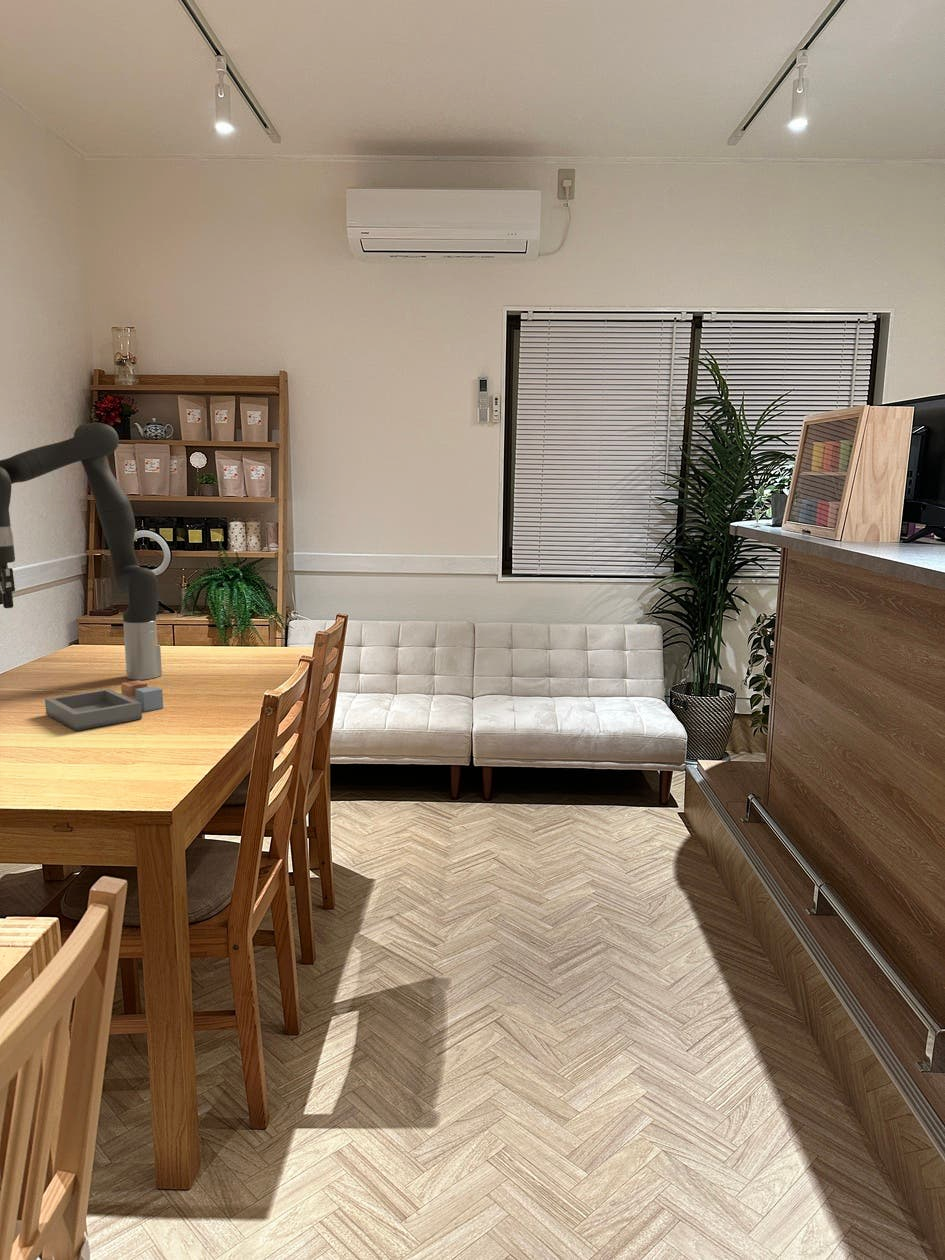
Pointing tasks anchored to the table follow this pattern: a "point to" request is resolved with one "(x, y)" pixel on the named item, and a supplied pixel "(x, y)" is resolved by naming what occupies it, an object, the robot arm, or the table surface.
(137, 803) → the table surface
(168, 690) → the table surface
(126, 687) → the terracotta block
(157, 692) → the grey block
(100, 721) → the charcoal tray
